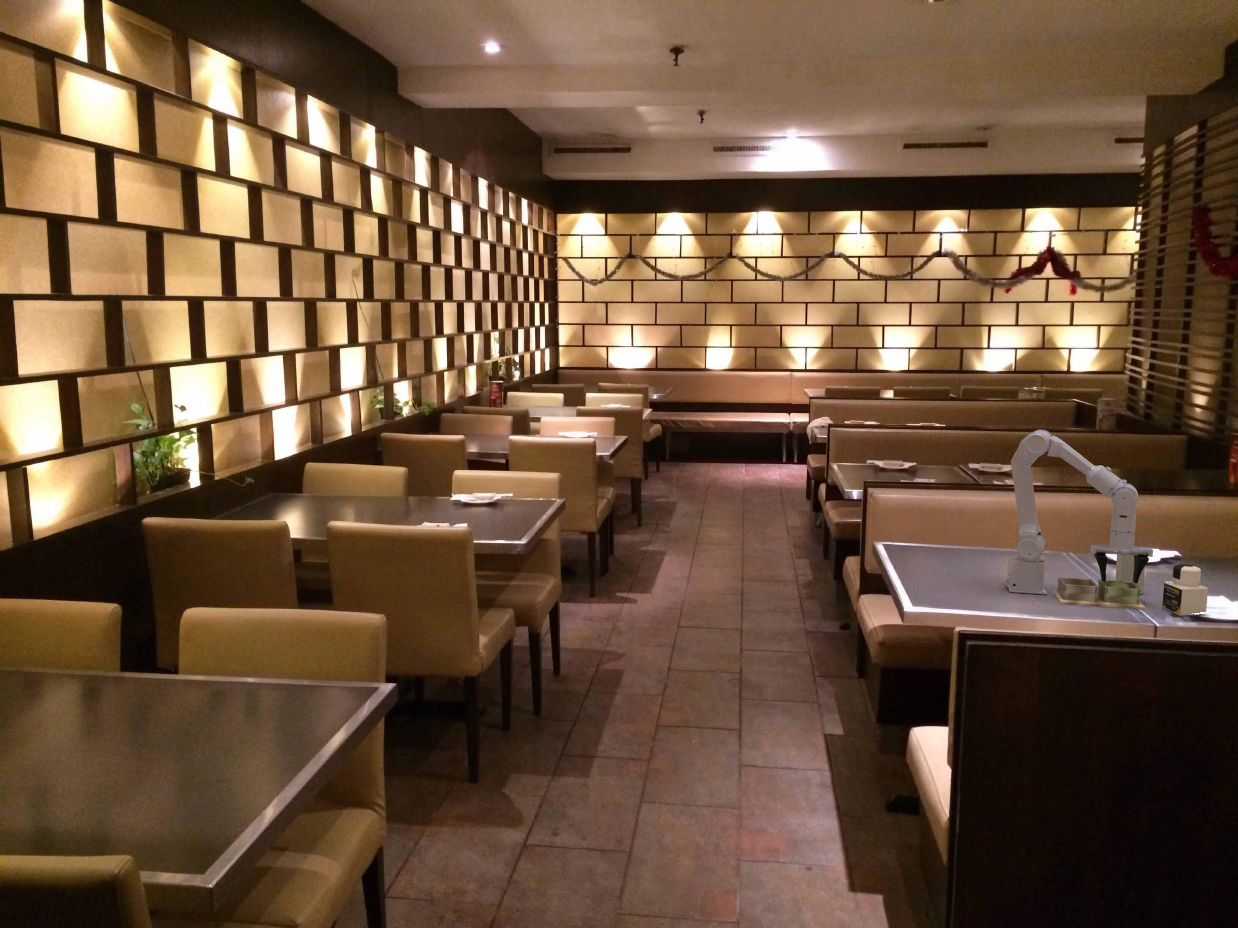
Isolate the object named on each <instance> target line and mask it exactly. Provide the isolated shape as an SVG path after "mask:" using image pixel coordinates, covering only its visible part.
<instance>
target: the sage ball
mask: <svg viewBox="0 0 1238 928" xmlns="http://www.w3.org/2000/svg"><path fill="white" fill-rule="evenodd" d="M1113 581H1114V582H1112V583H1111V584H1110V585H1109V587H1116V588H1129V587H1128V585H1127V584H1126V583H1125V582H1123V581H1116V580H1113Z"/></svg>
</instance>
